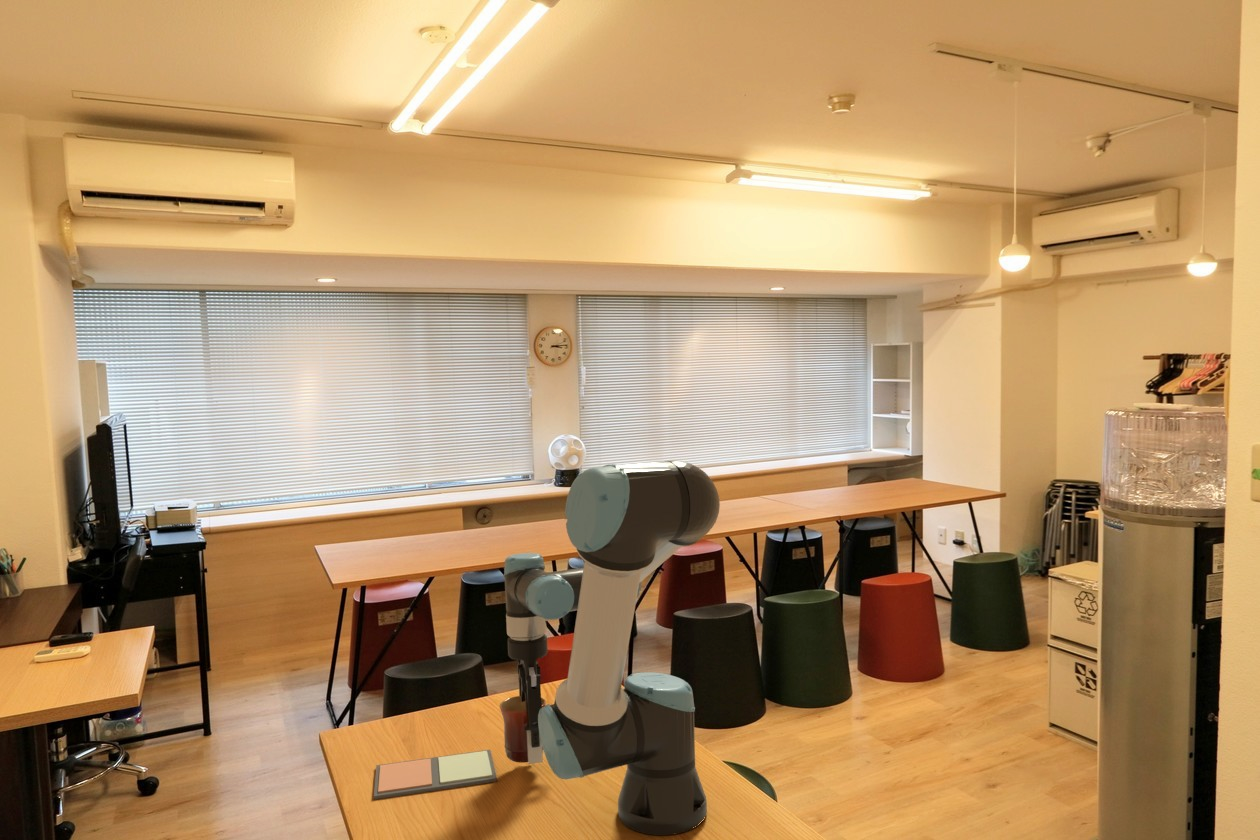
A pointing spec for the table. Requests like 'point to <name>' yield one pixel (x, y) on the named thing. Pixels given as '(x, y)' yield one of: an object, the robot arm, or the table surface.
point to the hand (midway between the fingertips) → (532, 753)
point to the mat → (434, 774)
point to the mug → (516, 728)
